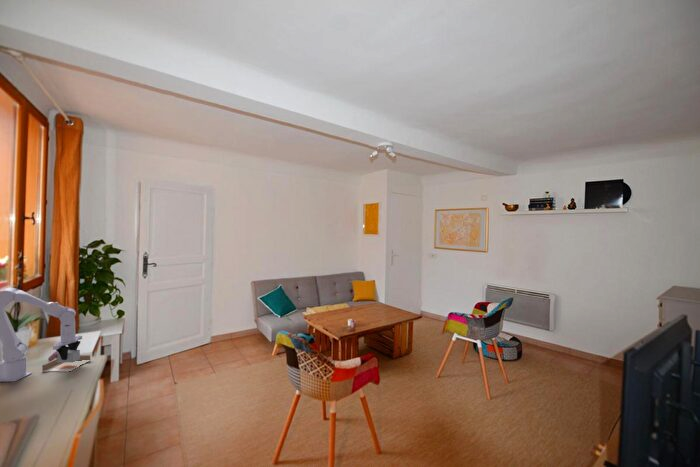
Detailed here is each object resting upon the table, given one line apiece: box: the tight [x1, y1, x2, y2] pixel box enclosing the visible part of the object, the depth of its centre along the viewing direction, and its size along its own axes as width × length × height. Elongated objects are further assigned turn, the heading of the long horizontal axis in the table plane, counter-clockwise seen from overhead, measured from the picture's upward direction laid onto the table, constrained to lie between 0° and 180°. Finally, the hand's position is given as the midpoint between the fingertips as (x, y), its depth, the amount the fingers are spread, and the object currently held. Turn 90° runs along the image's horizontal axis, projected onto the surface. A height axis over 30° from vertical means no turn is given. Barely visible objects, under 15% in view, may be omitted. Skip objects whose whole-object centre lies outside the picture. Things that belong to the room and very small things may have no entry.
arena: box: [41, 354, 91, 373], centre depth 158 cm, size 14×12×4 cm
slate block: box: [56, 349, 81, 363], centre depth 157 cm, size 4×8×5 cm, turn 91°
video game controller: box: [48, 350, 58, 362], centre depth 168 cm, size 10×5×7 cm, turn 169°
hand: (68, 357), depth 157 cm, fingers closed on slate block, 4 cm apart
